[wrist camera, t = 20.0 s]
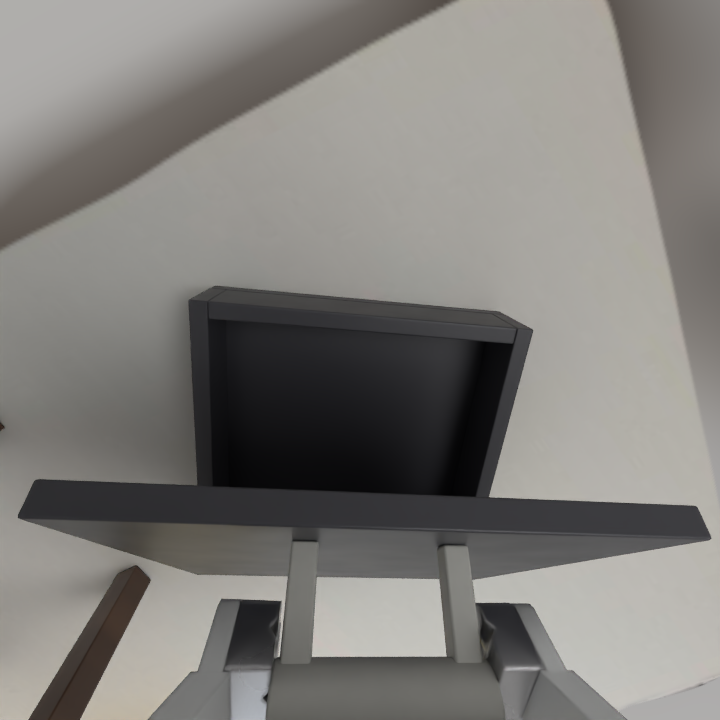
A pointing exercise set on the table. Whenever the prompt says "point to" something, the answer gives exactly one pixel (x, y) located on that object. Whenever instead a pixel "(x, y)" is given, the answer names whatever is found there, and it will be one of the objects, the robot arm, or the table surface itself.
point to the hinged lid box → (350, 392)
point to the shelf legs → (92, 649)
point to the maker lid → (361, 570)
